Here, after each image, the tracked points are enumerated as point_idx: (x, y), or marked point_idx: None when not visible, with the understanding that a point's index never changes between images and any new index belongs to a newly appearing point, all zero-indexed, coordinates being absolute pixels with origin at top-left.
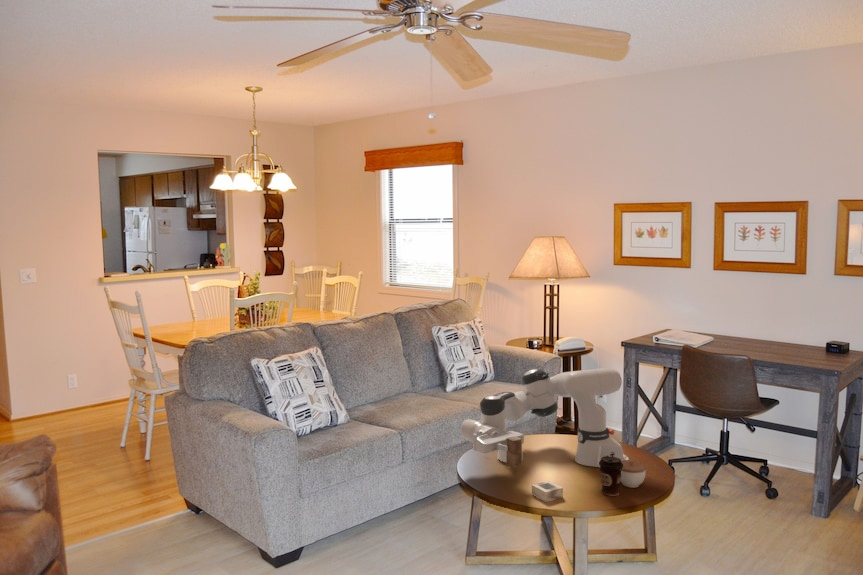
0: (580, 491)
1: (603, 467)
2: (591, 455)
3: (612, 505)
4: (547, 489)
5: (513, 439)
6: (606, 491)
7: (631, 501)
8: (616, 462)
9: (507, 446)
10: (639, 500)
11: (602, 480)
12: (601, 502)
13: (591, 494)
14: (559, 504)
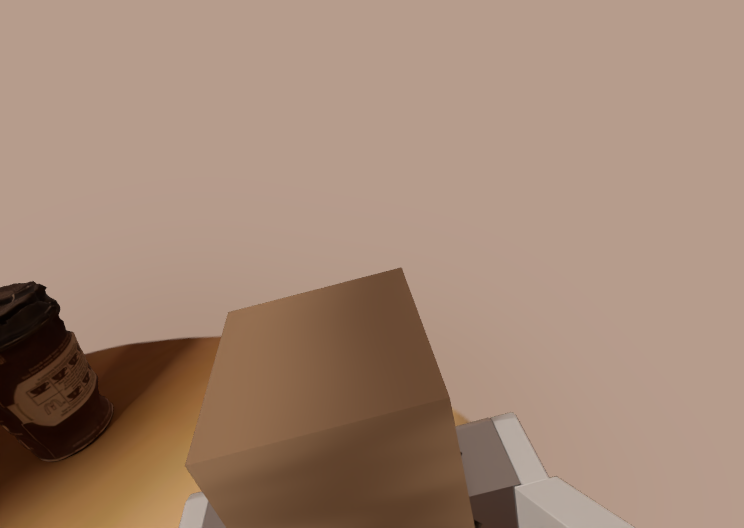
0: (136, 486)
1: (50, 322)
2: None
3: (189, 350)
4: None
5: (357, 312)
6: (102, 406)
7: (118, 359)
8: (19, 283)
9: (486, 421)
10: (94, 359)
11: (80, 380)
12: (191, 374)
13: (140, 441)
14: None
